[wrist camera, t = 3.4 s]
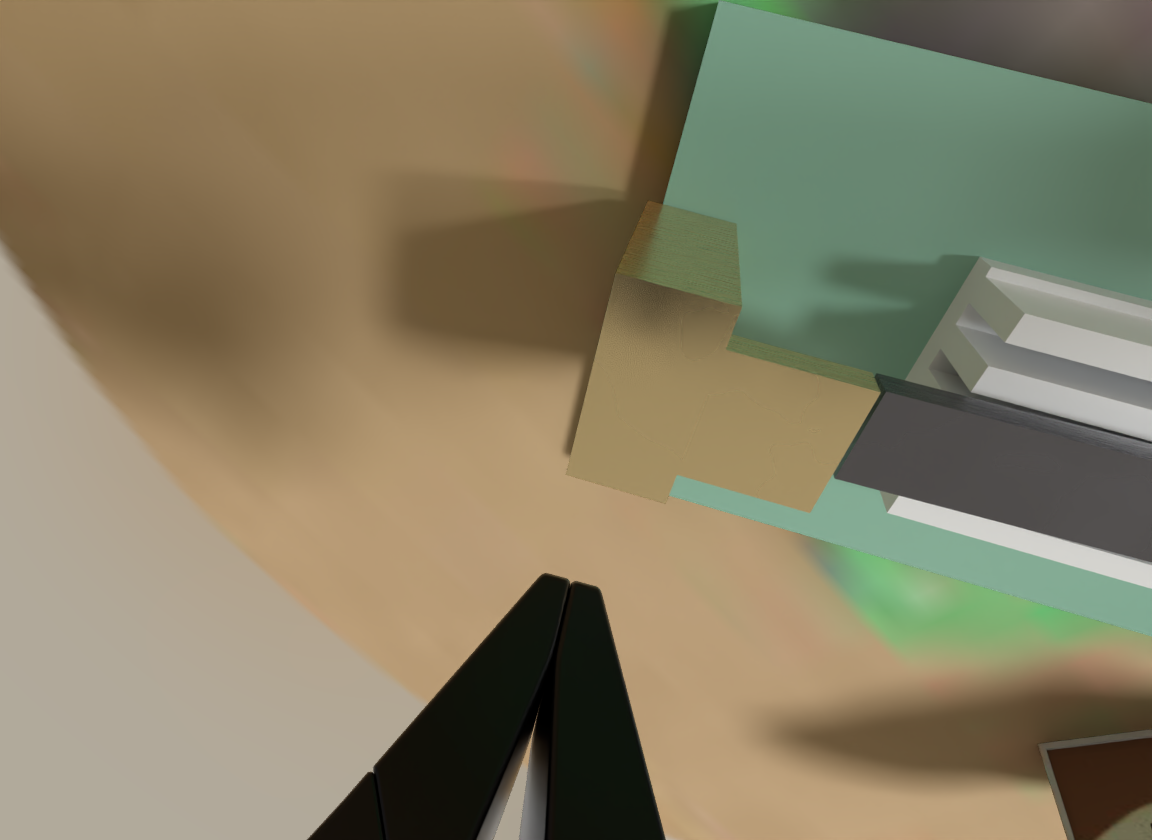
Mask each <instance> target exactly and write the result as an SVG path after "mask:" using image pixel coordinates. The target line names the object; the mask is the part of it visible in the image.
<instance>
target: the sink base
mask: <svg viewBox="0 0 1152 840" xmlns="http://www.w3.org/2000/svg"><path fill="white" fill-rule="evenodd" d="M663 204H664V205H668V206H672V207H675V208H679V209H683V210H687V211H691V212H695V213H698V214H702V215H706V216H710V217H714V218H717V219H721V220H725V221H729V222H733V223H737V237H738V252H739V267H740V282H741V296H742V309H741V312H740V314H739V317H738V319H737V322H736V324H735V327H734V330H733V332H732V334H733V335H737V336H740V337H744V338H747V339H751V340H755V341H758V342H762V343H766V344H769V345H773V346H777V347H780V348H784V349H788V350H791V351H795V352H799V353H802V354H806V355H810V356H813V357H817V358H821V359H824V360H828V361H832V362H835V363H839V364H843V365H846V366H850V367H854V368H857V369H861V370H865V371H868V372H872V373H873V376H874V377H875V375H876V373H878V374H882V375H886V376H890V377H894V378H898V379H902V380H906V381H909V382H913V383H917V384H921V385H925V386H929V387H933V388H936V389H940V390H944V391H948V392H952V393H956V394H960V395H964V396H967V397H971V398H975V399H979V400H983V401H987V402H991V403H995V404H998V405H1002V406H1006V407H1010V408H1014V409H1018V410H1022V411H1026V412H1029V413H1033V414H1037V415H1041V416H1045V417H1049V418H1053V419H1057V420H1060V421H1064V422H1068V423H1072V424H1076V425H1080V426H1084V427H1087V428H1091V429H1095V430H1099V431H1103V432H1107V433H1111V434H1115V435H1118V436H1122V437H1126V438H1130V439H1134V440H1138V441H1142V442H1146V443H1149V444H1152V104H1151V103H1146V102H1142V101H1138V100H1134V99H1130V98H1126V97H1121V96H1117V95H1113V94H1109V93H1105V92H1101V91H1096V90H1092V89H1088V88H1084V87H1080V86H1075V85H1071V84H1067V83H1063V82H1059V81H1055V80H1050V79H1046V78H1042V77H1038V76H1034V75H1030V74H1025V73H1021V72H1017V71H1013V70H1009V69H1005V68H1000V67H996V66H992V65H988V64H984V63H980V62H975V61H971V60H967V59H963V58H959V57H954V56H950V55H946V54H942V53H938V52H934V51H929V50H925V49H921V48H917V47H913V46H909V45H904V44H900V43H896V42H892V41H888V40H884V39H879V38H875V37H871V36H867V35H863V34H859V33H854V32H850V31H846V30H842V29H838V28H833V27H829V26H825V25H821V24H817V23H813V22H808V21H804V20H800V19H796V18H792V17H788V16H783V15H779V14H775V13H771V12H767V11H763V10H758V9H754V8H750V7H746V6H742V5H738V4H733V3H729V2H725V1H721V0H719V2H718V6H717V10H716V13H715V17H714V20H713V24H712V28H711V31H710V35H709V39H708V42H707V46H706V49H705V53H704V57H703V60H702V64H701V68H700V71H699V75H698V79H697V82H696V86H695V89H694V93H693V97H692V100H691V104H690V108H689V111H688V115H687V118H686V122H685V126H684V129H683V133H682V137H681V140H680V144H679V147H678V151H677V155H676V158H675V162H674V166H673V169H672V173H671V176H670V180H669V184H668V187H667V191H666V195H665V198H664V202H663ZM669 496H672V497H676V498H679V499H683V500H686V501H690V502H693V503H696V504H700V505H703V506H707V507H710V508H714V509H717V510H720V511H724V512H727V513H731V514H734V515H738V516H741V517H744V518H748V519H751V520H755V521H758V522H762V523H765V524H768V525H772V526H775V527H779V528H782V529H786V530H789V531H792V532H796V533H799V534H803V535H806V536H810V537H813V538H816V539H820V540H823V541H827V542H830V543H834V544H837V545H840V546H844V547H847V548H851V549H854V550H858V551H861V552H864V553H868V554H871V555H875V556H878V557H882V558H885V559H888V560H892V561H895V562H899V563H902V564H906V565H909V566H912V567H916V568H919V569H923V570H926V571H930V572H933V573H936V574H940V575H943V576H947V577H950V578H954V579H957V580H960V581H964V582H967V583H971V584H974V585H978V586H981V587H984V588H988V589H991V590H995V591H998V592H1002V593H1005V594H1008V595H1012V596H1015V597H1019V598H1022V599H1026V600H1029V601H1032V602H1036V603H1039V604H1043V605H1046V606H1050V607H1053V608H1056V609H1060V610H1063V611H1067V612H1070V613H1074V614H1077V615H1080V616H1084V617H1087V618H1091V619H1094V620H1098V621H1101V622H1104V623H1108V624H1111V625H1115V626H1118V627H1122V628H1125V629H1128V630H1132V631H1135V632H1139V633H1142V634H1146V635H1149V636H1152V562H1148V561H1144V560H1141V559H1137V558H1133V557H1129V556H1125V555H1122V554H1118V553H1114V552H1110V551H1106V550H1103V549H1099V548H1095V547H1091V546H1088V545H1084V544H1080V543H1076V542H1072V541H1069V540H1065V539H1061V538H1057V537H1053V536H1050V535H1046V534H1042V533H1038V532H1035V531H1031V530H1027V529H1023V528H1019V527H1016V526H1012V525H1008V524H1004V523H1000V522H997V521H993V520H989V519H985V518H982V517H978V516H974V515H970V514H966V513H963V512H959V511H955V510H951V509H948V508H944V507H940V506H936V505H932V504H929V503H925V502H921V501H917V500H913V499H910V498H906V497H902V496H898V495H895V494H891V493H887V492H883V491H879V490H876V489H872V488H868V487H864V486H860V485H857V484H853V483H849V482H845V481H842V480H838V479H835V478H834V475H832V477H831V478H830V480H829V482H828V483H827V485H826V487H825V488H824V490H823V492H822V494H821V495H820V497H819V499H818V500H817V502H816V504H815V505H814V507H813V509H812V511H811V512H810V513H807V512H804V511H800V510H797V509H793V508H790V507H787V506H783V505H780V504H776V503H773V502H769V501H766V500H762V499H759V498H755V497H752V496H749V495H745V494H742V493H738V492H735V491H731V490H728V489H724V488H721V487H717V486H714V485H711V484H707V483H704V482H700V481H697V480H693V479H690V478H686V477H683V476H679V475H677V476H676V479H675V481H674V484H673V486H672V489H671V491H670V494H669Z"/></svg>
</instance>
